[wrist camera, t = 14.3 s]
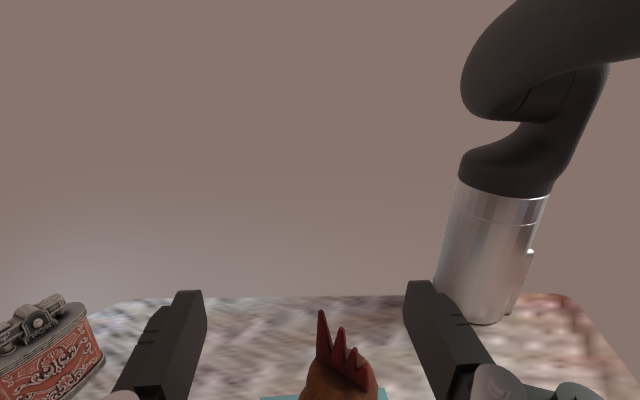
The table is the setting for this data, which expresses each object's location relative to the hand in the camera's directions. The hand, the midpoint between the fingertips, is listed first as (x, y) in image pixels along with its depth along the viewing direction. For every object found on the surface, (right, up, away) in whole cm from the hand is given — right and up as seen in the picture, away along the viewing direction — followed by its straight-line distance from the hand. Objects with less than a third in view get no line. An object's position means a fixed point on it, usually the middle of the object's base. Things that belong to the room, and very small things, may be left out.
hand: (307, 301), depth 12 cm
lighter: (-24, -15, +17) cm, 33 cm away
